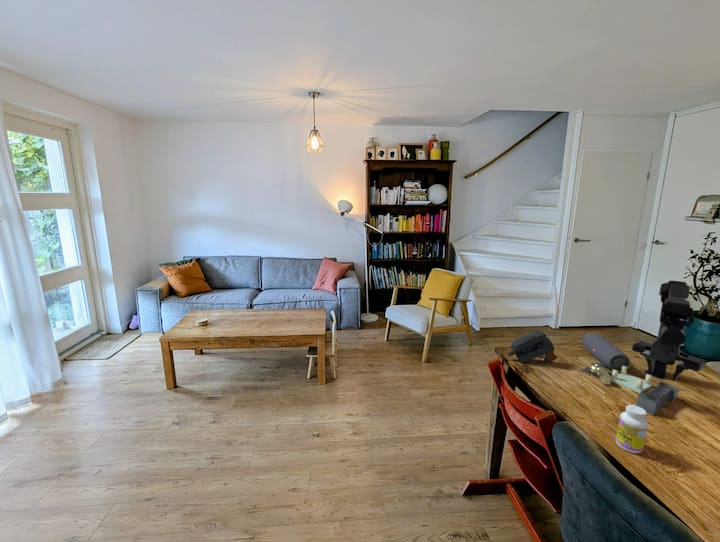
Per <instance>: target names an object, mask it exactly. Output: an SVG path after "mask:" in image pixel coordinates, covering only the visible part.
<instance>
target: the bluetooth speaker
mask: <svg viewBox="0 0 720 542" xmlns="http://www.w3.org/2000/svg"><path fill="white" fill-rule="evenodd" d="M581 341H582V345H583V346H584V347H585V349H586V350H587V351H588V352H589V353H590V354H591V355H592V356H593V357H594V359H595V360H596V361H597V362H598V363H600V364H602V365H604V366H605V367H606V368H607V369H610V370H611V371H613V370H617V371H618V373H620V372H621V368H622V365H625V366H627V370H628V369H629V368H630V366H631V360H630V358H629V356H628V355H626V354H625V352H623V351H622V350H621V349H619V348H618V347H617V346H616V345H614V344H613V343H612V342H610V341H608V340H607V339H605V338H604V337H602V336H601V335H599V334H596V333H595V332H594V333H593V332H592V333H591V332H590V333H587V334H586V335H584V336H583V338H582V340H581Z"/></svg>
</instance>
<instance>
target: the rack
mask: <svg viewBox="0 0 720 542" xmlns="http://www.w3.org/2000/svg"><path fill="white" fill-rule="evenodd" d="M627 371H628V369H627V366H625V365H622V368H621V372H618V371H617V370H612V372H611V373H612V376H611V380H610V383H611V382H612V383H614V384H616V385H618V386H621V387H623V388H625V389H628V390H630V391H633V392H636V393H638V394H641V393H645V391H647V390H648V389H650V388H652V387H653V386H654V383H653V382H652V378H653V375H650V374H647V373H646V375H645V379H642V378H640V377H637V376H634V375H633V374H629V373H627Z"/></svg>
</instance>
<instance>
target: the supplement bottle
mask: <svg viewBox="0 0 720 542" xmlns="http://www.w3.org/2000/svg"><path fill="white" fill-rule="evenodd" d="M646 416H647V412H646V411H645V410H644V409H643V408H641V407H638V406H636V404H627V405H626V407H625V411H623V412H621V413H620V417H619V421H618V425H617V430H616V434H615V443H616V444H617V445H618V446H619V447H620V448H621V449H623V450H624V451H626V452H629V453H631V454H640V453H642V452H643V451H644V447H645V442H646V439H647V434H648V430H649V429H648V428H649V422H648V419H646Z"/></svg>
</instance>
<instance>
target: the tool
mask: <svg viewBox="0 0 720 542" xmlns="http://www.w3.org/2000/svg"><path fill="white" fill-rule="evenodd" d="M509 348H510V349H511V350H510V351H508V352H507V355H508V357H510V356H513V355H515V357H516V359H517V360H518V362H519V363H521V364H522V363H525V362H529V361H531V360H533V359H536V358H538V359H543V360H544V362H545V364H549V363H551V362H553V361H556V360H557V358H558V357H557V355H556V354H555V346H554V344H553V342H552V341H551V339H550V338H549V337H547V335H546V333H545V332H544V331H543V332H542V331H541V330H536V331H534V332H532V333H529V334H526V335H524V336H522V337H519V338H517V339H514V340H513V341H512V342H511V345H509Z"/></svg>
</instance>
